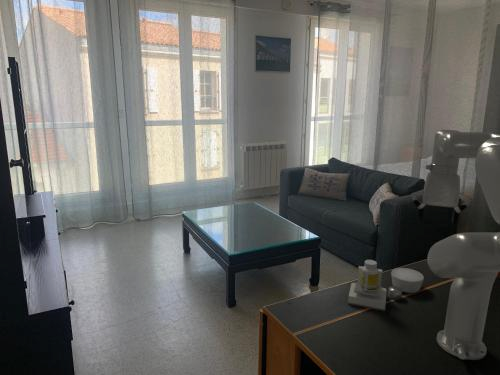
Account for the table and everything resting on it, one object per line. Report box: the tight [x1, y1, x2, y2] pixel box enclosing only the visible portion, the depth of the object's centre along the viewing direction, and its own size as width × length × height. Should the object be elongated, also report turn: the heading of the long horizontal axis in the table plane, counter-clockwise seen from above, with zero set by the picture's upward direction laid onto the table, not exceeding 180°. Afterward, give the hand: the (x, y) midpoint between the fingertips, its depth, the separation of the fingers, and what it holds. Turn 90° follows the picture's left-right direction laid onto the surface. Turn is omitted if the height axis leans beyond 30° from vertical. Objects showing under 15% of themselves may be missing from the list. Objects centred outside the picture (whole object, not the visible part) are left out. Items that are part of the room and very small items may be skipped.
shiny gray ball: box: [387, 285, 402, 301], centre depth 134 cm, size 4×4×3 cm
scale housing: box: [347, 265, 387, 312], centre depth 131 cm, size 10×12×10 cm
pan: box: [354, 281, 383, 297], centre depth 131 cm, size 7×9×2 cm
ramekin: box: [390, 267, 425, 294], centre depth 141 cm, size 11×11×5 cm
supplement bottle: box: [361, 259, 379, 292], centre depth 129 cm, size 5×5×10 cm
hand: (436, 221), depth 122 cm, fingers open, 9 cm apart
